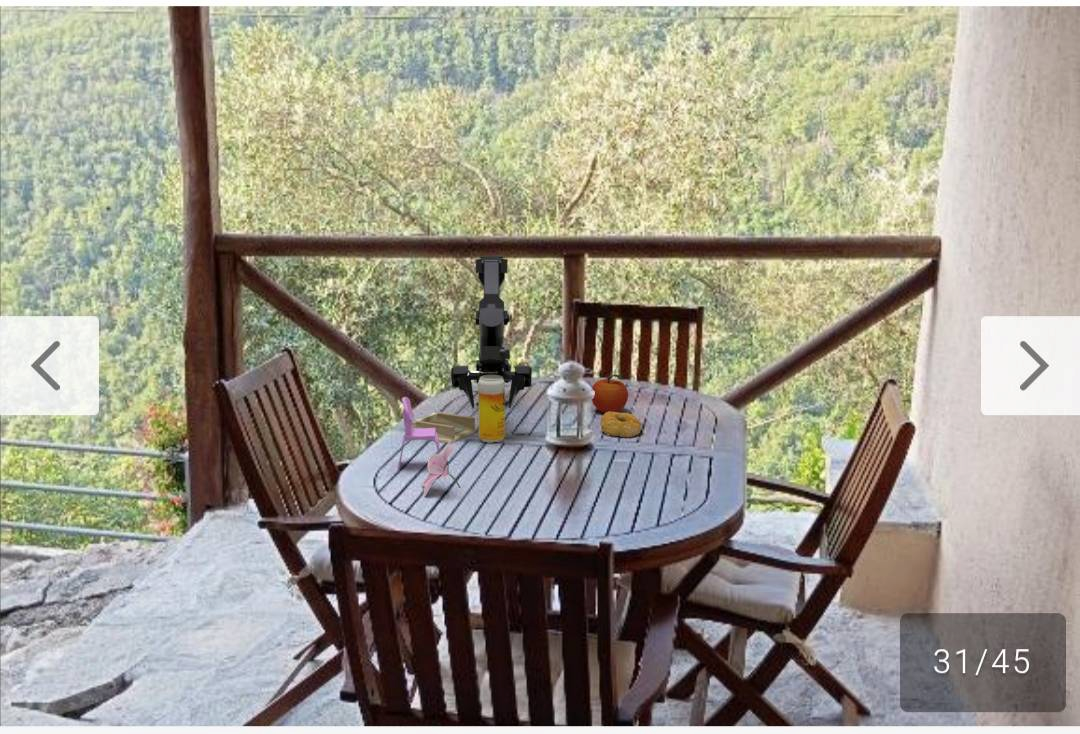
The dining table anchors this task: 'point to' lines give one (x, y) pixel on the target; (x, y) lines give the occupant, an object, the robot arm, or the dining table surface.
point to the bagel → (620, 424)
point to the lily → (438, 467)
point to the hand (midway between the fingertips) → (491, 407)
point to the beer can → (491, 408)
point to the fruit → (610, 394)
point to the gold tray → (447, 425)
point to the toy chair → (413, 432)
